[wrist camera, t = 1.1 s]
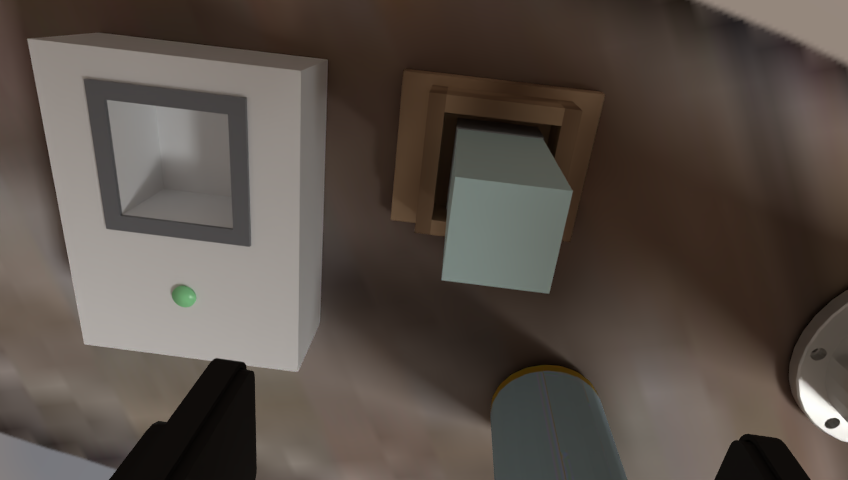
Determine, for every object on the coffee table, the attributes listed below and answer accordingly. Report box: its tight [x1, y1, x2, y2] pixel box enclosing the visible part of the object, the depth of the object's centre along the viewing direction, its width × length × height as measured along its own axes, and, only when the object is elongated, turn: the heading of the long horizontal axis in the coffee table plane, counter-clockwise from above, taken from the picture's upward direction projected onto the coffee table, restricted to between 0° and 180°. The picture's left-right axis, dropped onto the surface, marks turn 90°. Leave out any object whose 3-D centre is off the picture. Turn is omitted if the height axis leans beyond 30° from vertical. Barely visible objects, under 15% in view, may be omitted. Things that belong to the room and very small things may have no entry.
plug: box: [441, 117, 573, 294], centre depth 24 cm, size 4×4×10 cm
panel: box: [27, 33, 328, 372], centre depth 29 cm, size 12×16×5 cm
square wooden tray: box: [391, 69, 605, 242], centre depth 27 cm, size 10×8×4 cm
